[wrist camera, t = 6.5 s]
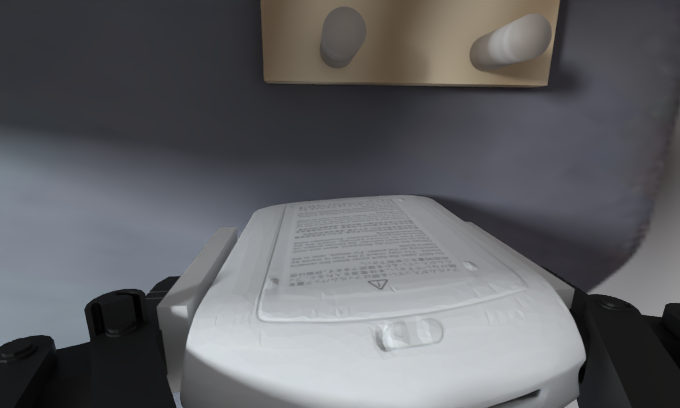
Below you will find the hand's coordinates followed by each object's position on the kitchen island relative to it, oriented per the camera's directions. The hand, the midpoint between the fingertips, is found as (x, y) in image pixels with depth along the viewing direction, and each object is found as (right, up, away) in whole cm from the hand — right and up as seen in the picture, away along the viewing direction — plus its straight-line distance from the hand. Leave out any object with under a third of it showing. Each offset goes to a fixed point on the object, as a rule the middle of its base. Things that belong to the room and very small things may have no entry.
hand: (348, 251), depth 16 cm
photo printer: (0, +1, +3) cm, 3 cm away
